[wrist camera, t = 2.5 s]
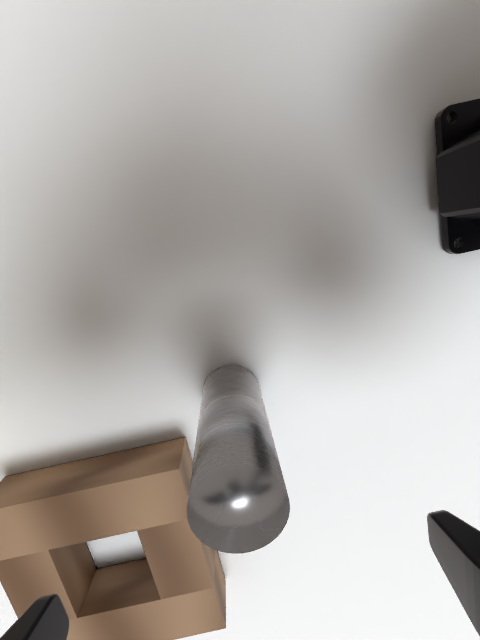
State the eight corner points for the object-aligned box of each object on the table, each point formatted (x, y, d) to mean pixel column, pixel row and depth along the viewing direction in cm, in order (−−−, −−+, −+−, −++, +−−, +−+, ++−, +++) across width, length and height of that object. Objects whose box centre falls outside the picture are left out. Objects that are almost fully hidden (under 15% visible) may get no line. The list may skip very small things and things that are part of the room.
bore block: (185, 437, 18) (179, 468, 15) (225, 579, 20) (225, 628, 17) (5, 476, 18) (-32, 515, 15) (65, 615, 20) (42, 668, 17)
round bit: (253, 359, 17) (279, 455, 9) (264, 411, 18) (297, 541, 10) (197, 372, 17) (175, 478, 9) (210, 422, 18) (200, 562, 10)
